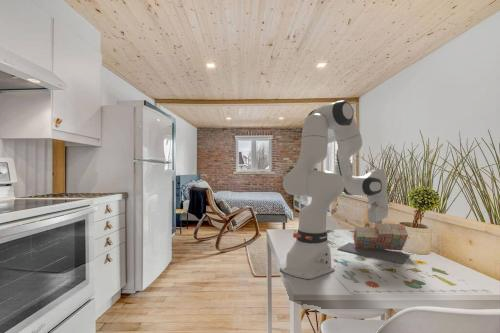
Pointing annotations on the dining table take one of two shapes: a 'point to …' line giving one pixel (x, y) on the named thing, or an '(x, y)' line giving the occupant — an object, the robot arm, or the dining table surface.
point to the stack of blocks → (381, 237)
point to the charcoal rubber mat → (376, 253)
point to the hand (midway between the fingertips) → (378, 228)
